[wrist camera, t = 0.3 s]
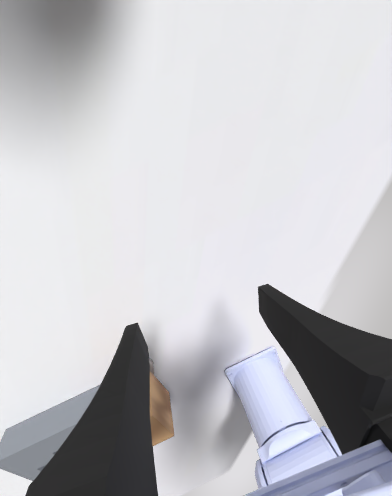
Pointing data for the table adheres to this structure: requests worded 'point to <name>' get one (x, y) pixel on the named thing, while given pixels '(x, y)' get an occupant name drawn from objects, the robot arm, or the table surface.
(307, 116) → the table surface
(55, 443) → the square hole plate
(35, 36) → the table surface
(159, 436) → the peg
